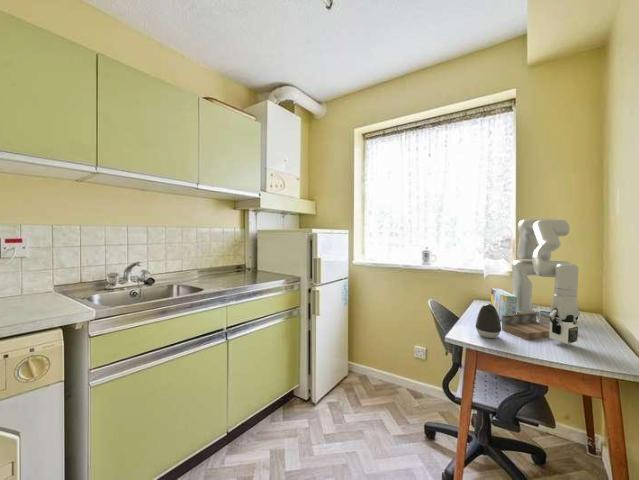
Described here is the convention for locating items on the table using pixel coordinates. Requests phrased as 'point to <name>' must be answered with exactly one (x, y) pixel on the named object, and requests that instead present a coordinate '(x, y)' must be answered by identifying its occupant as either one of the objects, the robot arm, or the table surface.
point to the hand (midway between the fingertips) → (563, 332)
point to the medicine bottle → (566, 331)
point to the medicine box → (544, 317)
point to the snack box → (503, 302)
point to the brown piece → (525, 326)
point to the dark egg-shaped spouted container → (488, 322)
